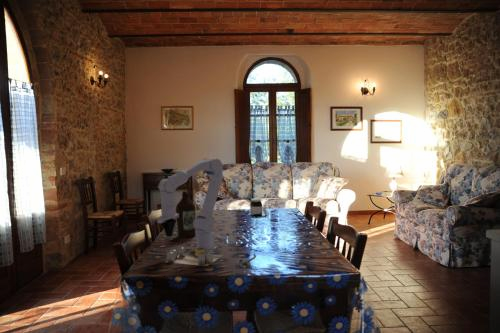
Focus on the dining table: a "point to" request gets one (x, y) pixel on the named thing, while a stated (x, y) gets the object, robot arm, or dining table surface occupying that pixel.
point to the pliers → (246, 262)
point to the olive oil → (185, 216)
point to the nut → (199, 251)
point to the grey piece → (172, 256)
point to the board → (193, 259)
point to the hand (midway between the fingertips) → (169, 236)
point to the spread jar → (257, 207)
